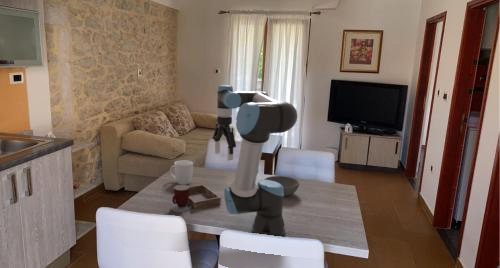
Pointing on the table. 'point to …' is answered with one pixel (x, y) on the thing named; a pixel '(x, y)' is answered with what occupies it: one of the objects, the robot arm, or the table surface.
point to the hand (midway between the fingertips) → (223, 156)
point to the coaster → (180, 208)
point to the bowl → (286, 183)
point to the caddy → (204, 203)
